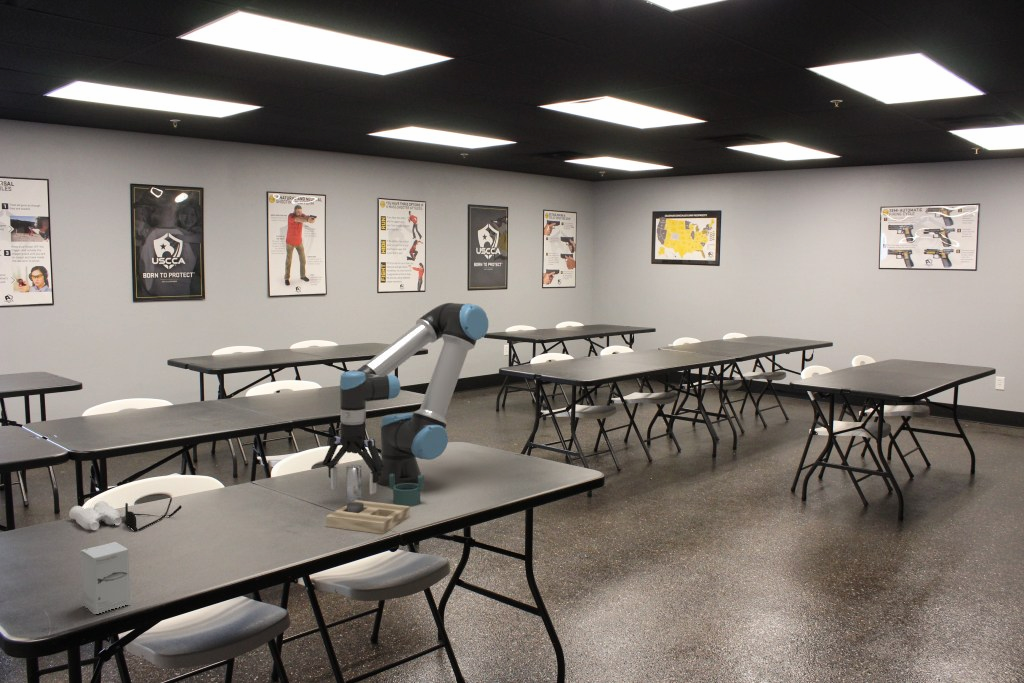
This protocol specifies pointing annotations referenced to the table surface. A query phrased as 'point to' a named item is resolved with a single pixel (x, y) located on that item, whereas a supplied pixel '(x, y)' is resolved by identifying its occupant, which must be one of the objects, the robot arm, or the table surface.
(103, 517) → the binoculars
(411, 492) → the bracket
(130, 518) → the sunglasses
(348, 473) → the metal cylinder
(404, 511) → the jig
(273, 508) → the table surface
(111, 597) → the supplement box
